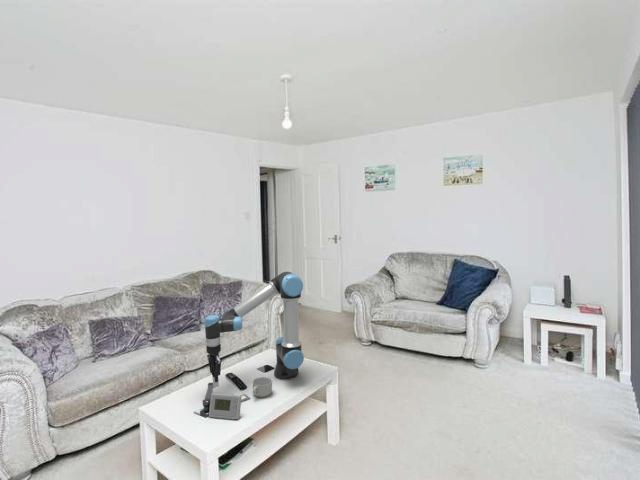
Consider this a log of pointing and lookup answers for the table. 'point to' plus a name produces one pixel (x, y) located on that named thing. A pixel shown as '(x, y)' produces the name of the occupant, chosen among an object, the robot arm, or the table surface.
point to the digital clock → (225, 406)
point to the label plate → (244, 397)
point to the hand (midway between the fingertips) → (216, 386)
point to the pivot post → (205, 411)
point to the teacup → (262, 386)
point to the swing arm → (208, 395)
